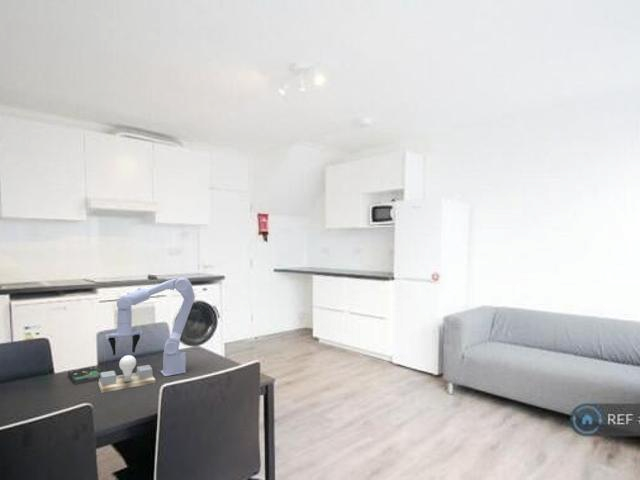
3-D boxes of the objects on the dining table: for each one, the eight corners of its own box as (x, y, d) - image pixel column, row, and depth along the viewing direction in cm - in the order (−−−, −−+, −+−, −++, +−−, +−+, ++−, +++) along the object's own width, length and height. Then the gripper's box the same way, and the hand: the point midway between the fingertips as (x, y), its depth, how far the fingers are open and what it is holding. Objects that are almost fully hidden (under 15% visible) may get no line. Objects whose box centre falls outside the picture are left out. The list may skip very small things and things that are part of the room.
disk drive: (67, 377, 170) (74, 386, 159) (67, 371, 170) (74, 379, 159) (93, 372, 177) (102, 380, 166) (93, 366, 177) (102, 373, 166)
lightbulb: (138, 381, 159) (138, 355, 160) (122, 385, 155) (122, 358, 155) (132, 378, 164) (132, 352, 164) (116, 381, 159) (116, 355, 159)
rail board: (149, 375, 172) (150, 364, 172) (155, 382, 163) (155, 371, 163) (98, 384, 160) (98, 372, 160) (101, 392, 151) (101, 380, 151)
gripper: (140, 319, 177) (139, 348, 177) (104, 322, 169) (104, 353, 169) (143, 322, 171) (142, 352, 171) (106, 325, 163) (106, 357, 163)
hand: (123, 353), depth 170 cm, fingers open, 7 cm apart
